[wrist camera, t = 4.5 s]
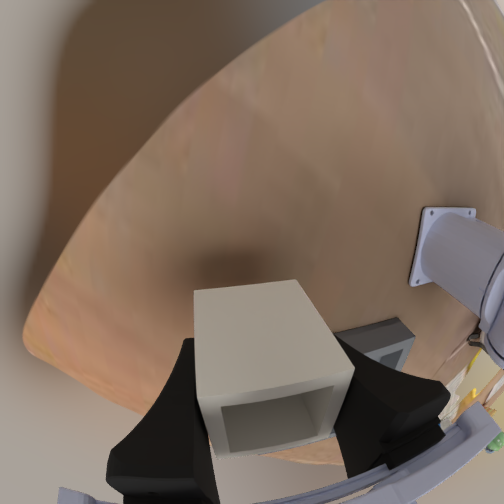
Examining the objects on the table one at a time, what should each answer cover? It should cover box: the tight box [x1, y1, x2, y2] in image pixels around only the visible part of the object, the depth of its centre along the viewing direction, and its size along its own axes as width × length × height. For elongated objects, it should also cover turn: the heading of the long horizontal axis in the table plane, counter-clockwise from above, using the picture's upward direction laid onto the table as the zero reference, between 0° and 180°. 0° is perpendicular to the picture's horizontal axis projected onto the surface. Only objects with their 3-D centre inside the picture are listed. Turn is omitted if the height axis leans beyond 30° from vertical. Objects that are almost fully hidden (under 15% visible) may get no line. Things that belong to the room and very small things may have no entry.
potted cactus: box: [482, 405, 504, 453], centre depth 57 cm, size 15×15×25 cm
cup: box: [194, 279, 355, 459], centre depth 11 cm, size 5×5×6 cm
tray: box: [257, 318, 416, 455], centre depth 26 cm, size 16×16×4 cm
